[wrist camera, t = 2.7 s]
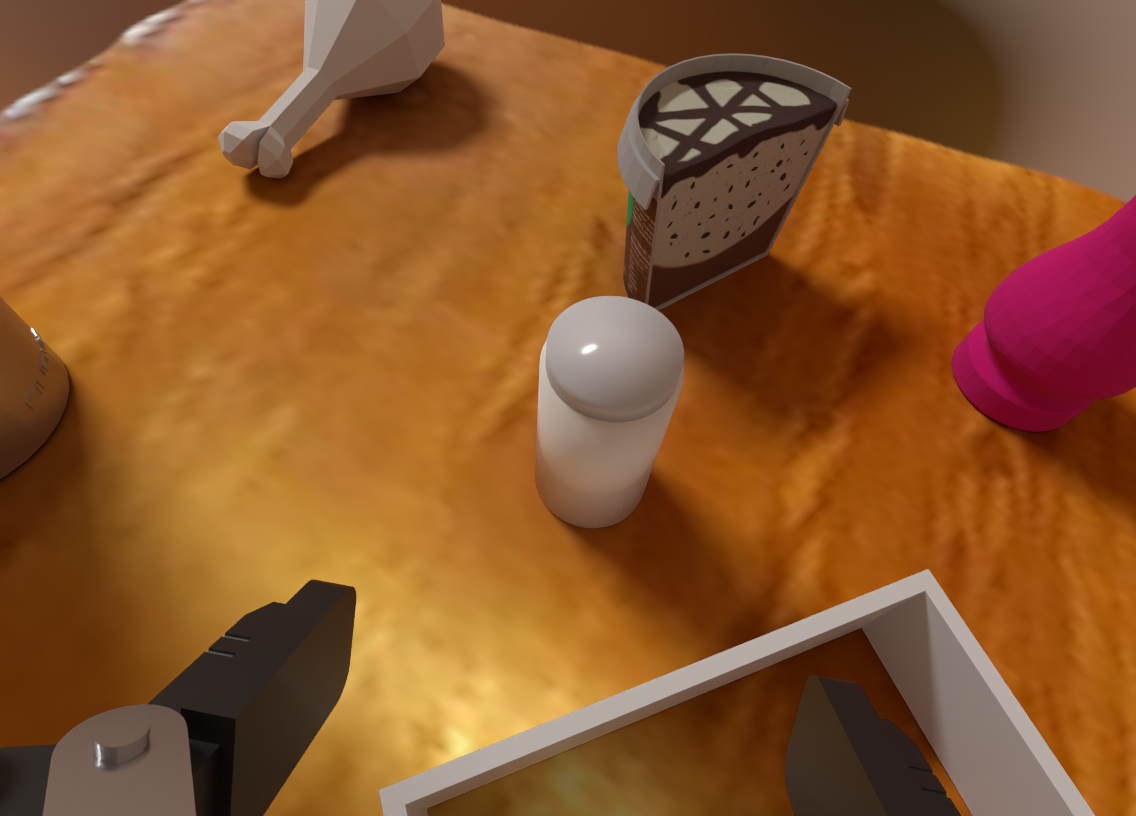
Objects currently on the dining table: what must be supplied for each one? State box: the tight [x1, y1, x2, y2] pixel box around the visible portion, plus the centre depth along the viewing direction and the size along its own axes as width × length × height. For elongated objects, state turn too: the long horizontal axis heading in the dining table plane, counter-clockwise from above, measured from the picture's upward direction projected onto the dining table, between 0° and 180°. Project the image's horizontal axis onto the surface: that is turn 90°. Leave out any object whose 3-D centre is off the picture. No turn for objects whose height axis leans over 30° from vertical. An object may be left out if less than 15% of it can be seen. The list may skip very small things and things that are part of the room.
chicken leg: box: [218, 0, 445, 178], centre depth 41 cm, size 8×18×8 cm, turn 152°
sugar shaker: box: [535, 296, 684, 528], centre depth 26 cm, size 5×5×10 cm
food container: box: [617, 54, 851, 311], centre depth 34 cm, size 12×6×10 cm, turn 124°
